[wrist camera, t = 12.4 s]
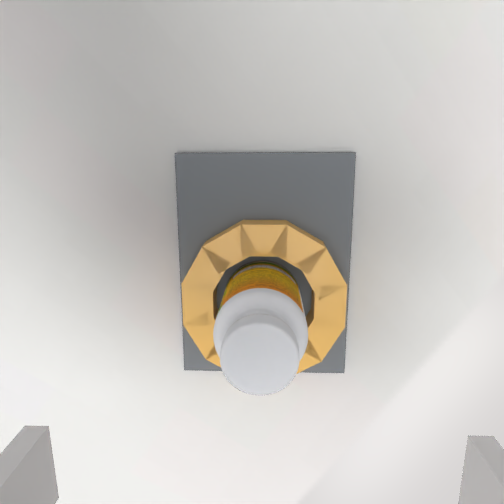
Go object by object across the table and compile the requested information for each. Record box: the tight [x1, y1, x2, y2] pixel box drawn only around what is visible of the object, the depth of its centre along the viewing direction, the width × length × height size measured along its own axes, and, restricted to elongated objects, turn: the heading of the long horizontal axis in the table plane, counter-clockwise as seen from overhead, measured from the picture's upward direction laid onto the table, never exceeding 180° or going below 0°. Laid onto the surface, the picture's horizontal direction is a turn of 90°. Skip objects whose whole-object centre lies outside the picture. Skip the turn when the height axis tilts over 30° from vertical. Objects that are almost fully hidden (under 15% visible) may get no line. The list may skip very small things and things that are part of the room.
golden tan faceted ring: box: [181, 220, 347, 374], centre depth 29 cm, size 11×11×2 cm
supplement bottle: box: [213, 261, 308, 396], centre depth 25 cm, size 5×5×10 cm
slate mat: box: [175, 152, 356, 373], centre depth 30 cm, size 12×16×1 cm
